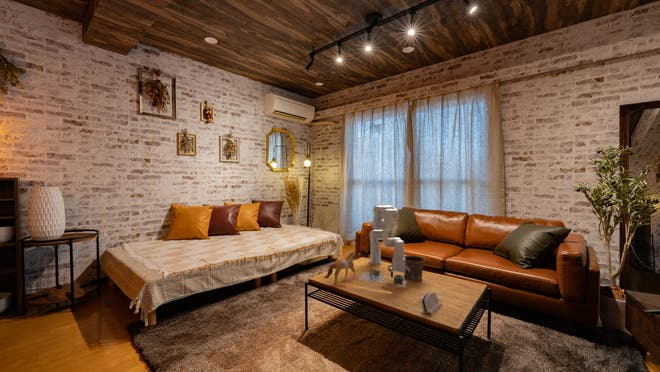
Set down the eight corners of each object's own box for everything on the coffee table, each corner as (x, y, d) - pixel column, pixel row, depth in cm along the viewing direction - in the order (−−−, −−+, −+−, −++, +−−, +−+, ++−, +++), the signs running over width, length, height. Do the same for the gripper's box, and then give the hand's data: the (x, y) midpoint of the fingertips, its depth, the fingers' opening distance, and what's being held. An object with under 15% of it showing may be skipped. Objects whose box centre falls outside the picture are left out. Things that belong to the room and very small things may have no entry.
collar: (395, 280, 211) (395, 274, 210) (403, 282, 208) (403, 275, 208) (393, 283, 205) (393, 277, 205) (401, 284, 203) (401, 278, 202)
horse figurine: (354, 275, 224) (354, 250, 223) (360, 278, 217) (360, 253, 217) (323, 284, 205) (323, 257, 205) (329, 287, 199) (329, 260, 198)
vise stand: (364, 273, 228) (364, 266, 228) (385, 276, 221) (385, 269, 220) (357, 281, 212) (357, 273, 212) (380, 285, 204) (380, 277, 204)
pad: (392, 280, 214) (392, 279, 214) (407, 282, 209) (407, 281, 209) (389, 285, 204) (389, 284, 204) (404, 287, 199) (404, 286, 199)
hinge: (431, 315, 159) (426, 298, 161) (424, 315, 162) (418, 298, 164) (442, 305, 172) (437, 289, 174) (435, 306, 175) (430, 290, 177)
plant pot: (404, 281, 211) (404, 261, 210) (402, 274, 227) (402, 255, 226) (426, 283, 208) (426, 262, 207) (422, 275, 224) (422, 256, 223)
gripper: (411, 256, 206) (410, 278, 206) (388, 253, 213) (388, 275, 214) (409, 259, 199) (409, 282, 200) (386, 256, 206) (386, 278, 207)
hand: (398, 278), depth 207 cm, fingers open, 9 cm apart
